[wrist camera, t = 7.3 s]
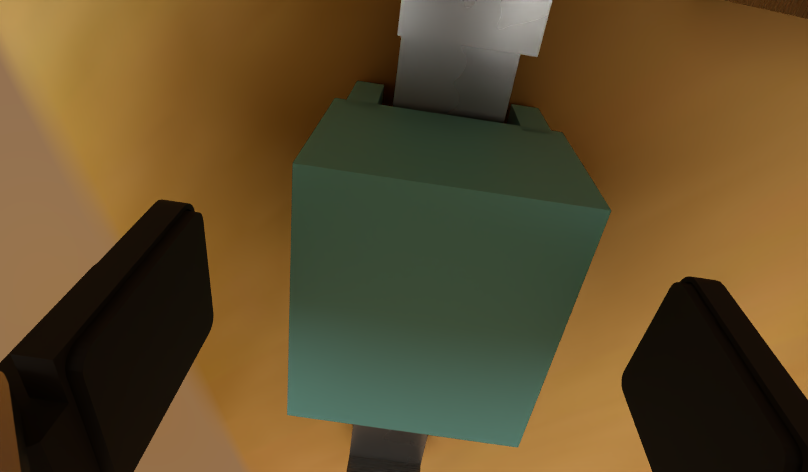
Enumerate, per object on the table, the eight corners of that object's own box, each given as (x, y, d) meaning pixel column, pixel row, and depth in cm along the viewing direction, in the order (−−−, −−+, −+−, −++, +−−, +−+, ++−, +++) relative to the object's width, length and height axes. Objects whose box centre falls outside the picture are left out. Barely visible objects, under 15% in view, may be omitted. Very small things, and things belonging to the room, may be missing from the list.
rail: (413, -38, 13) (405, -29, 10) (524, -20, 13) (553, -6, 10) (354, 433, 23) (339, 518, 20) (418, 442, 23) (414, 528, 20)
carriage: (347, 79, 15) (292, 162, 9) (548, 109, 15) (611, 210, 9) (332, 272, 18) (287, 415, 13) (494, 295, 18) (518, 447, 13)
